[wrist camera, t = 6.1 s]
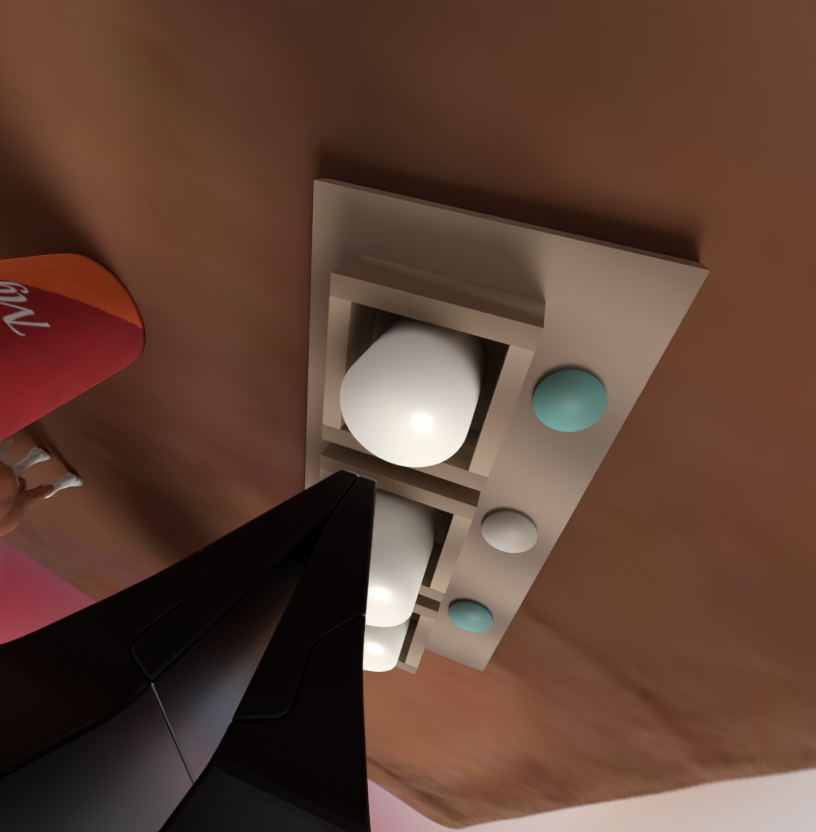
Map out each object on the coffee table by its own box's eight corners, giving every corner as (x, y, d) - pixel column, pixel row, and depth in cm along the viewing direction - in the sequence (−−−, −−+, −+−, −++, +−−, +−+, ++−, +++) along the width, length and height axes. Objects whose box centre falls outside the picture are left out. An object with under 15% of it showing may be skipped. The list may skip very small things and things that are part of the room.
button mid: (427, 564, 19) (403, 640, 16) (345, 534, 19) (308, 602, 16) (446, 503, 17) (422, 578, 14) (352, 471, 17) (311, 537, 14)
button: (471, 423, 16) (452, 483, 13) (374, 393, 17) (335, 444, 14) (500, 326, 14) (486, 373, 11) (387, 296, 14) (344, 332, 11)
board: (484, 655, 26) (475, 717, 23) (309, 586, 28) (281, 636, 25) (700, 262, 12) (743, 295, 9) (327, 177, 14) (270, 184, 11)
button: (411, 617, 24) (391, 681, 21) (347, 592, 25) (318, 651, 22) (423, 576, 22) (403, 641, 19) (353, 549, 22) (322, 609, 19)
